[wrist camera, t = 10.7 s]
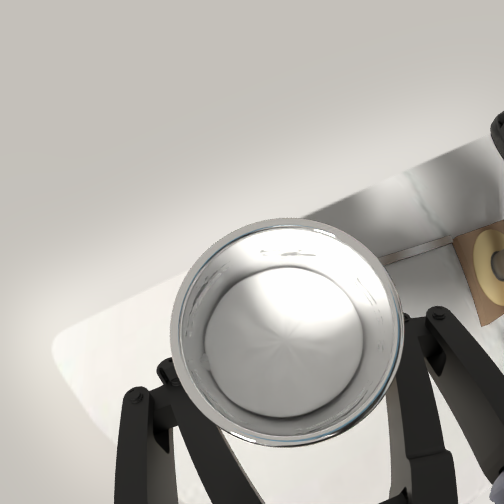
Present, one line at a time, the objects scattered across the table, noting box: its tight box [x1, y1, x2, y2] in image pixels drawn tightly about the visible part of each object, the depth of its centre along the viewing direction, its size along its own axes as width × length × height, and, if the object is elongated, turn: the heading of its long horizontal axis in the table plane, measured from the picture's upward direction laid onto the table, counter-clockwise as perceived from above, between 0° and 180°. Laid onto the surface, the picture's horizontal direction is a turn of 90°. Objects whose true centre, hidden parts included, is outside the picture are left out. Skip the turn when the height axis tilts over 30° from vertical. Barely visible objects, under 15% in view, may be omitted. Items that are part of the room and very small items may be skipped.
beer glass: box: [170, 218, 404, 448], centre depth 14 cm, size 7×7×15 cm
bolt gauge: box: [378, 220, 504, 327], centre depth 18 cm, size 36×11×13 cm, turn 103°
